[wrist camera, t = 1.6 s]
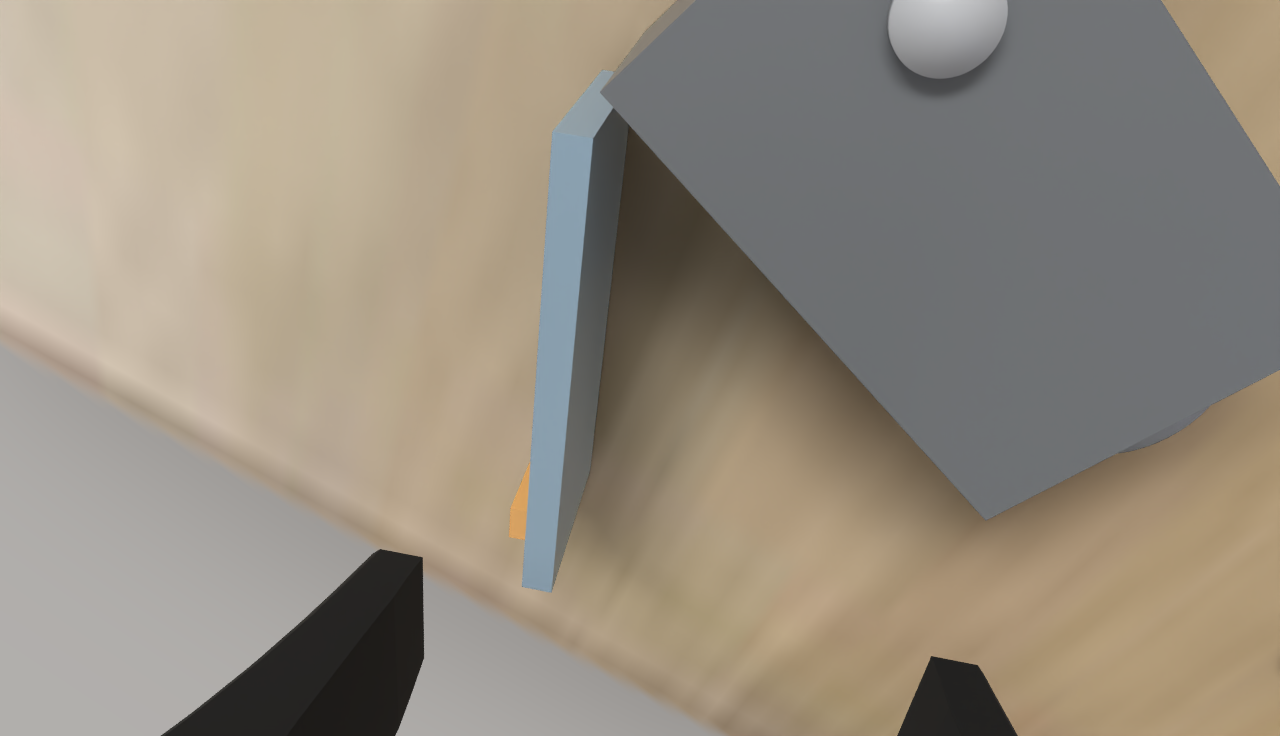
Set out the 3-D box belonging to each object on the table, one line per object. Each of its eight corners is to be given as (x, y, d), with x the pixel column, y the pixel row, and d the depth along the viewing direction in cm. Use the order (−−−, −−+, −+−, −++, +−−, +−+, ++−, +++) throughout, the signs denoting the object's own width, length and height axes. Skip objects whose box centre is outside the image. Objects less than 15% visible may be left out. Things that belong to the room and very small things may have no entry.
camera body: (1260, 251, 17) (1412, 385, 13) (974, 415, 19) (1023, 571, 15) (929, -244, 14) (989, -279, 9) (644, 31, 16) (595, 97, 12)
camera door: (590, 470, 21) (551, 592, 18) (540, 461, 21) (492, 581, 18) (634, 74, 16) (592, 138, 13) (570, 64, 16) (511, 125, 13)
